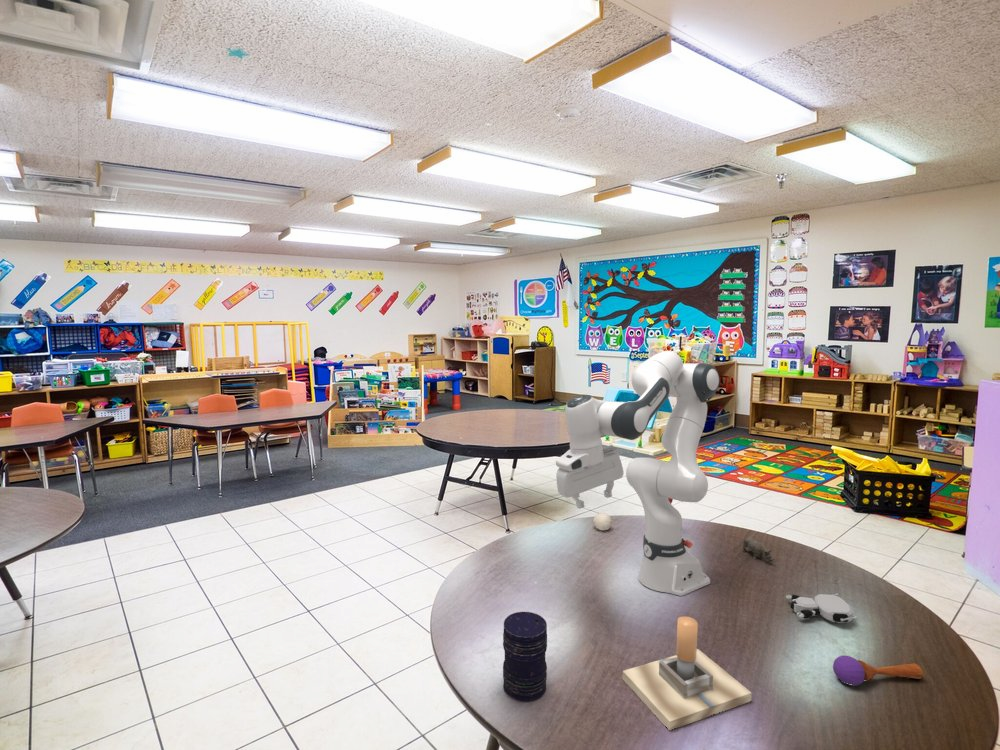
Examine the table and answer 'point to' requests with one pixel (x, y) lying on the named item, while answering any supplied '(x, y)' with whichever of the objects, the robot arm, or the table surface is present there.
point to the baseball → (602, 521)
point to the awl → (686, 647)
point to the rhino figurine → (757, 549)
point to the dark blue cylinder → (525, 656)
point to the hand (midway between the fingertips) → (594, 502)
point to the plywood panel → (685, 690)
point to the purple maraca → (869, 670)
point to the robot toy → (822, 607)
